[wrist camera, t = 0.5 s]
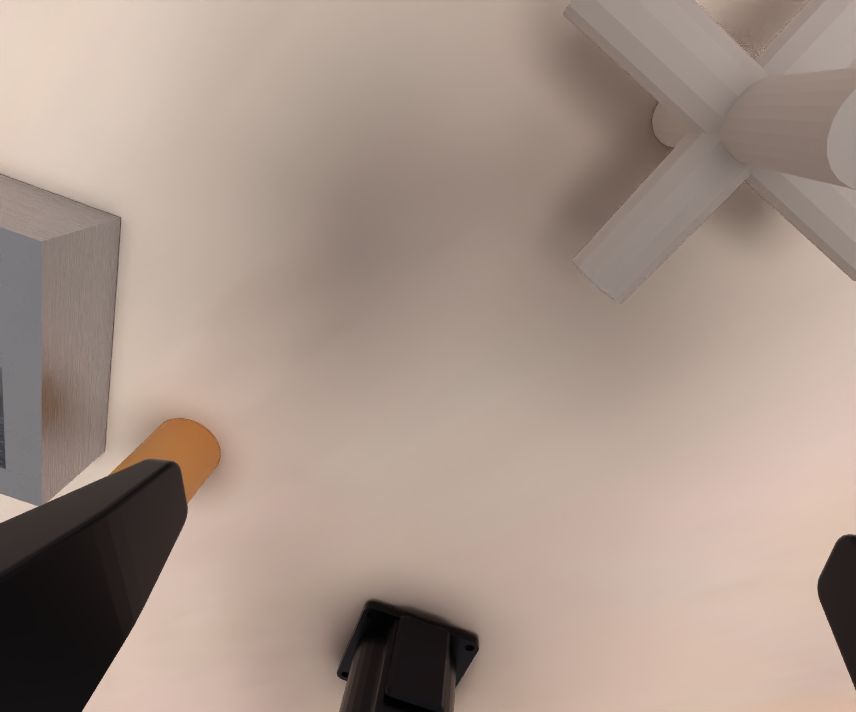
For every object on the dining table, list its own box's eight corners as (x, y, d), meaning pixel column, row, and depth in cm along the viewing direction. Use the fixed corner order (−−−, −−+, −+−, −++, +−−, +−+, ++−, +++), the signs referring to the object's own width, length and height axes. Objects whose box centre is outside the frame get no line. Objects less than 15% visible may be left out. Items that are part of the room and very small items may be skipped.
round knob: (220, 489, 26) (119, 630, 19) (146, 463, 26) (17, 596, 19) (232, 429, 24) (126, 560, 17) (153, 402, 24) (14, 522, 17)
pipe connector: (671, 321, 20) (819, 499, 11) (463, 150, 18) (433, 193, 9) (932, 79, 16) (1512, 44, 7) (696, -171, 14) (1056, -664, 5)
